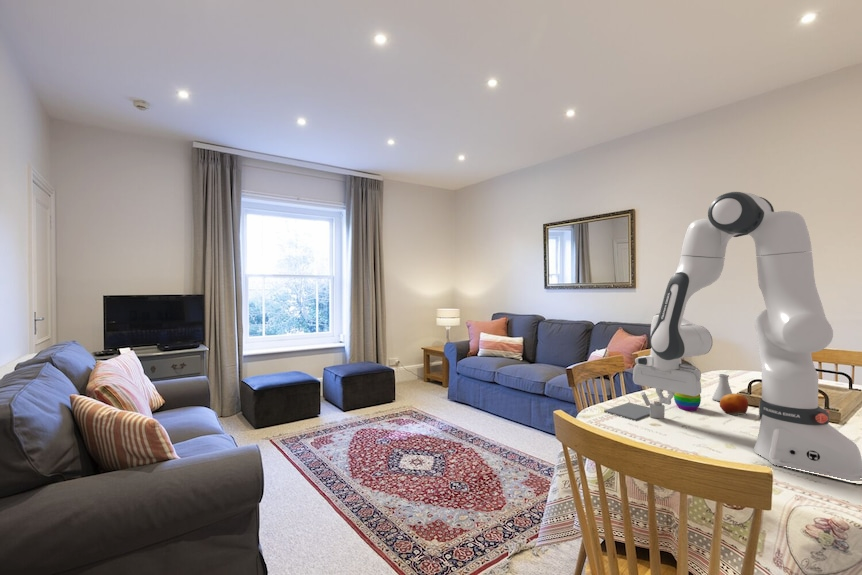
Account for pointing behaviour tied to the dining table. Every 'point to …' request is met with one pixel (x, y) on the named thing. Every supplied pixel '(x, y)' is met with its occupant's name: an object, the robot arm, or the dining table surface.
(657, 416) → the lighter
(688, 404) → the decorative egg
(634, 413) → the mat
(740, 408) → the fruit
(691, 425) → the dining table surface
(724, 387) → the flask
